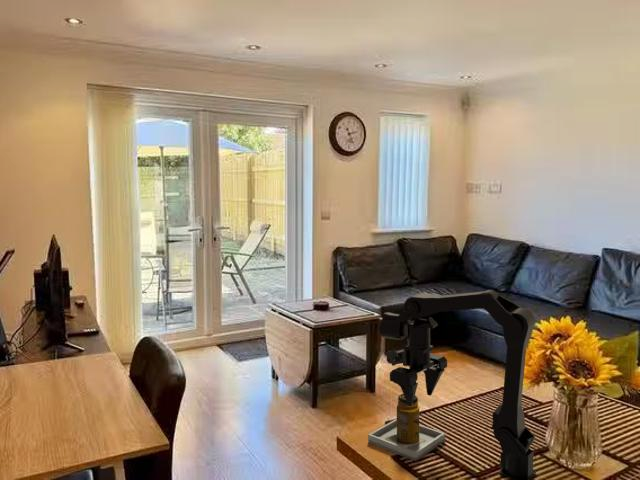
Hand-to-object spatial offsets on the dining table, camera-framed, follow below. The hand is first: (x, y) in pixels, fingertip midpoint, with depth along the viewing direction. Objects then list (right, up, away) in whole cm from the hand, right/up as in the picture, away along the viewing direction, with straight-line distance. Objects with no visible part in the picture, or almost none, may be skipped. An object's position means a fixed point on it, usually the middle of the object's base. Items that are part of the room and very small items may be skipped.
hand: (419, 400), depth 141 cm
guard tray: (-3, -13, +4) cm, 13 cm away
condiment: (-3, -12, +4) cm, 13 cm away
